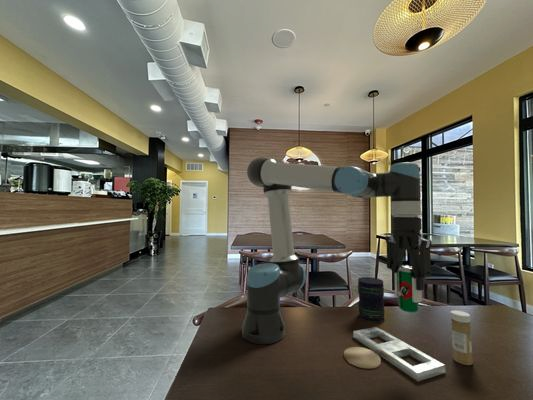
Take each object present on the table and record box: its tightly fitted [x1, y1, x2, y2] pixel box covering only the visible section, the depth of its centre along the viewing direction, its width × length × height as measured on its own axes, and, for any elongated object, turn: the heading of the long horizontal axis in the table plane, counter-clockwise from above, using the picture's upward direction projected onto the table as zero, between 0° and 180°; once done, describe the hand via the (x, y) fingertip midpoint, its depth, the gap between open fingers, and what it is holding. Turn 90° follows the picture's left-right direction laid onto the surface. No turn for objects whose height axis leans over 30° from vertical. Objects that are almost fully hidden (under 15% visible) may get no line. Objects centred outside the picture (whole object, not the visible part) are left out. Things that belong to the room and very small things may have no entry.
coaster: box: [343, 346, 382, 370], centre depth 72 cm, size 10×10×1 cm
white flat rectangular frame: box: [352, 326, 446, 382], centre depth 75 cm, size 24×10×2 cm, turn 20°
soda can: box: [397, 265, 420, 314], centre depth 71 cm, size 5×5×12 cm
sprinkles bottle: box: [450, 309, 474, 366], centre depth 71 cm, size 5×5×13 cm
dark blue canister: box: [357, 276, 385, 324], centre depth 101 cm, size 10×10×15 cm
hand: (408, 297), depth 70 cm, fingers closed on soda can, 5 cm apart
